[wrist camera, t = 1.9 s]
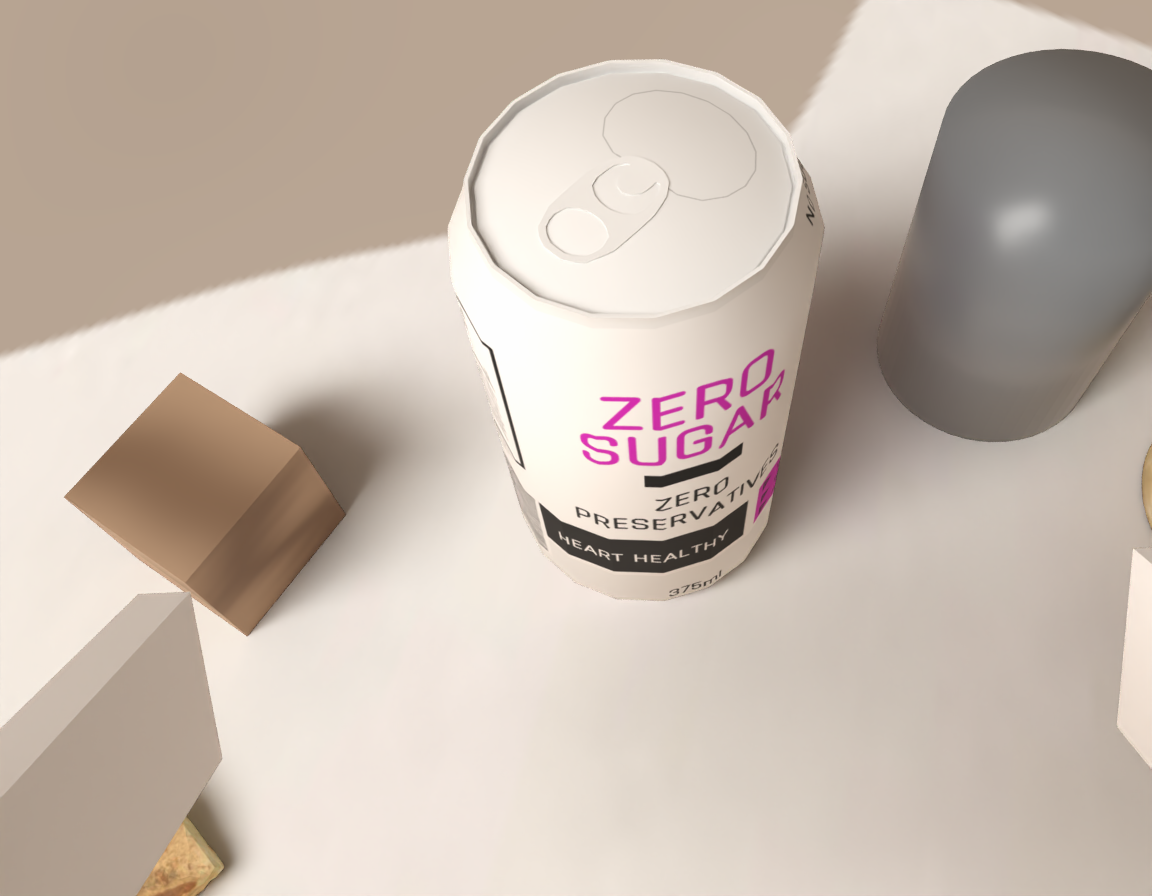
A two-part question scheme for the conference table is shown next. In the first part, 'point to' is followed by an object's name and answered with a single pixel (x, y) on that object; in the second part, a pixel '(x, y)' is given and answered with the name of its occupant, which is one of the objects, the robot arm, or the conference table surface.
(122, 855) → the robot arm
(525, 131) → the supplement can
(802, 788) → the conference table surface
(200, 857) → the shard
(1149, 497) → the hand bell
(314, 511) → the walnut block
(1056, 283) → the grey domed cylinder
